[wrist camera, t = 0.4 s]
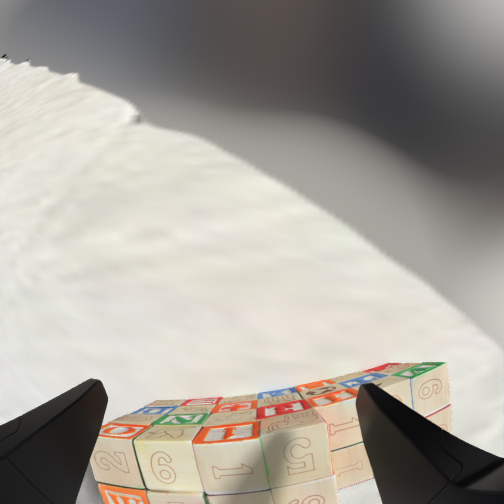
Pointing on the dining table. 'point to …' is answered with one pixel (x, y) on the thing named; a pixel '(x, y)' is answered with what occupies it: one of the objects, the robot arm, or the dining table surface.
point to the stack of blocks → (257, 441)
